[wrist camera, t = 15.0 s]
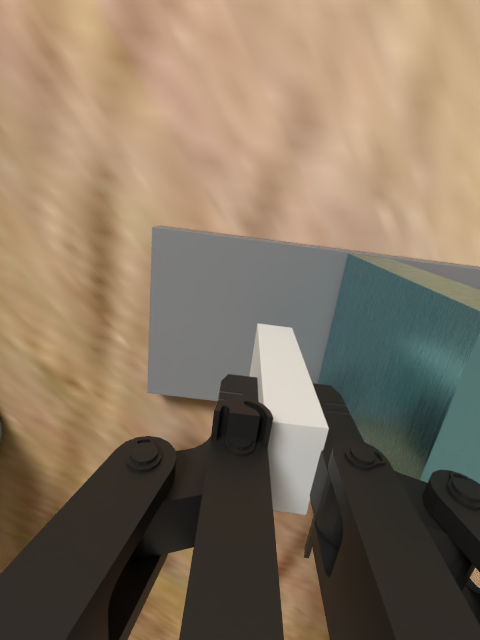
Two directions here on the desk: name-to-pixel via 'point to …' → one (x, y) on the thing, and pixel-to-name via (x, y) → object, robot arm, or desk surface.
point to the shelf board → (243, 303)
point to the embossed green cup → (0, 430)
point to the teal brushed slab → (408, 365)
